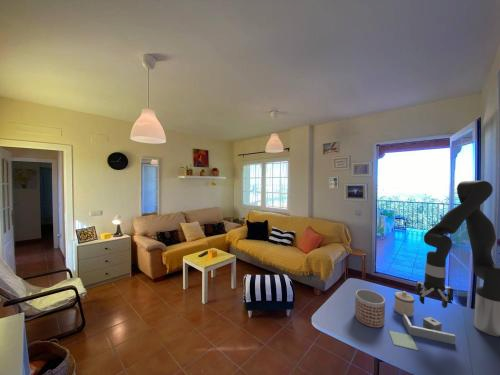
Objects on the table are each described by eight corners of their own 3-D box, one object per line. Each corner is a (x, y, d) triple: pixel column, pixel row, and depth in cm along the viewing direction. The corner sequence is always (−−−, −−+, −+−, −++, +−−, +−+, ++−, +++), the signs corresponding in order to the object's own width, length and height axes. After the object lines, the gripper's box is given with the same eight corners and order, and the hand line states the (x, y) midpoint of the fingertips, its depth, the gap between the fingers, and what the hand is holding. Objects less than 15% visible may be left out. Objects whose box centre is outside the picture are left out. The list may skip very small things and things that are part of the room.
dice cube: (441, 333, 102) (441, 323, 102) (433, 335, 101) (434, 325, 100) (429, 326, 107) (430, 316, 107) (422, 328, 105) (423, 318, 105)
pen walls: (443, 328, 105) (443, 321, 105) (455, 344, 95) (455, 336, 95) (402, 320, 111) (402, 313, 111) (409, 334, 101) (410, 326, 101)
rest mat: (410, 335, 100) (410, 335, 100) (418, 350, 92) (418, 350, 92) (388, 330, 103) (388, 330, 103) (394, 344, 95) (394, 344, 95)
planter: (389, 330, 104) (390, 305, 103) (359, 326, 107) (360, 302, 106) (378, 312, 117) (378, 290, 117) (351, 309, 120) (352, 287, 119)
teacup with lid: (417, 317, 113) (418, 297, 112) (399, 316, 114) (400, 295, 113) (404, 304, 125) (405, 285, 124) (387, 303, 126) (388, 284, 125)
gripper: (449, 272, 103) (447, 304, 104) (414, 267, 109) (412, 297, 110) (458, 279, 96) (455, 313, 97) (420, 274, 102) (418, 306, 103)
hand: (432, 305), depth 103 cm, fingers open, 8 cm apart
